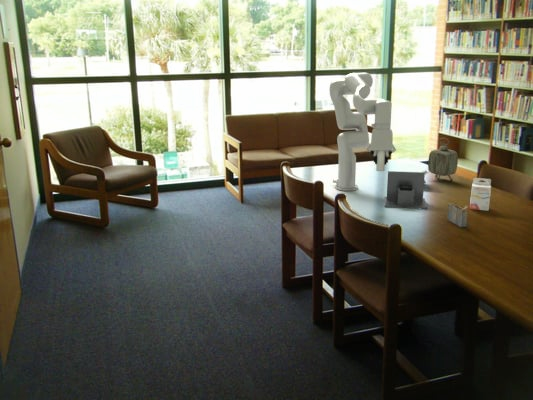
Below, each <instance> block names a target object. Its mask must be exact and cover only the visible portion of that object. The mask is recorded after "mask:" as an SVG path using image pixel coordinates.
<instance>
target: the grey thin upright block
mask: <svg viewBox="0 0 533 400" xmlns="http://www.w3.org/2000/svg"><path fill="white" fill-rule="evenodd" d="M468 208H470V205H469V206H467V204H465V205H463V207H461V206H459V205H457V204H454V203H448V204H447V214H446V215H447V216H446V220H448V222H449V221H450V222H451V223H453V224H455V225H457V226H458V227H460V228H464V227H465V228H466V227H467V222H468V213H469V211H468V210H467V209H468Z"/></svg>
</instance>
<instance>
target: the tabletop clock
mask: <svg viewBox="0 0 533 400" xmlns="http://www.w3.org/2000/svg"><path fill="white" fill-rule="evenodd" d="M442 139H443V140H446V141H448V142H447V143H445V142H441V140H442ZM438 142H439V144H440V146H439V148H438V149H433V150H431V151H430V152H429V155H428V162H427V163H428V165H427V166H428V167H427V169H428V172H430V173H431V174H433V175H434V177H435V178H437V179H436V180H437V181H438V182H439V181H441V179H440V178H441V177H448V178H449V181H450V182H453V180H454V179H453V178H452V177H451V176H452V175H456V173H457V170H458V164H459V163H458V162H459V159H458V157H459V155H458V152H457V151H456V150H452V149H449V148H448V145H449V144H450V139H448V138H447V137H440V138H439V140H438Z"/></svg>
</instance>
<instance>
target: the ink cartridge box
mask: <svg viewBox="0 0 533 400" xmlns="http://www.w3.org/2000/svg"><path fill="white" fill-rule="evenodd" d="M491 184H492V179H490V178H482V177H474V178H473V179H472V185H471V192H470V200H469V209H470V210H475V211H477V210H478V211H487V212H488V211H489V210H490V203H491V202H490V201H491V192H492V185H491Z"/></svg>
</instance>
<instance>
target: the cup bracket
mask: <svg viewBox="0 0 533 400" xmlns="http://www.w3.org/2000/svg"><path fill="white" fill-rule="evenodd" d="M425 176H426V175H425V172H423V171H421V172H419V171H397V170H396V171H392V170H391V171H389V170H387V180H386V181H387V182H386V183H387V184H386V196H384V199H383V200H384V208H398V209H401V208H402V209H418V210H419V209H420V210H421V209H423V210H427V208H428V206H427V201H426V199H425V198H424V191H425V190H424V189H425V188H424V187H425V184H424V180H425Z"/></svg>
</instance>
